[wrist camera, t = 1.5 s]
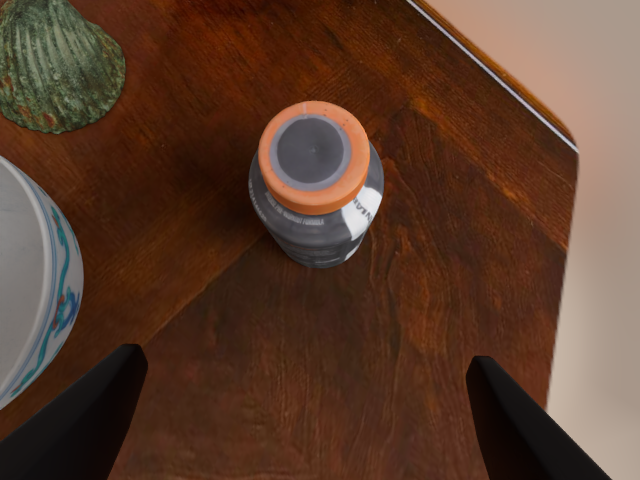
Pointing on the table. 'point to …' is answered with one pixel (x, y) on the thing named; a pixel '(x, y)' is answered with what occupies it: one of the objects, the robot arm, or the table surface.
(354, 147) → the pill bottle
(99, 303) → the table surface
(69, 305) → the chinaware
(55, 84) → the seashell
